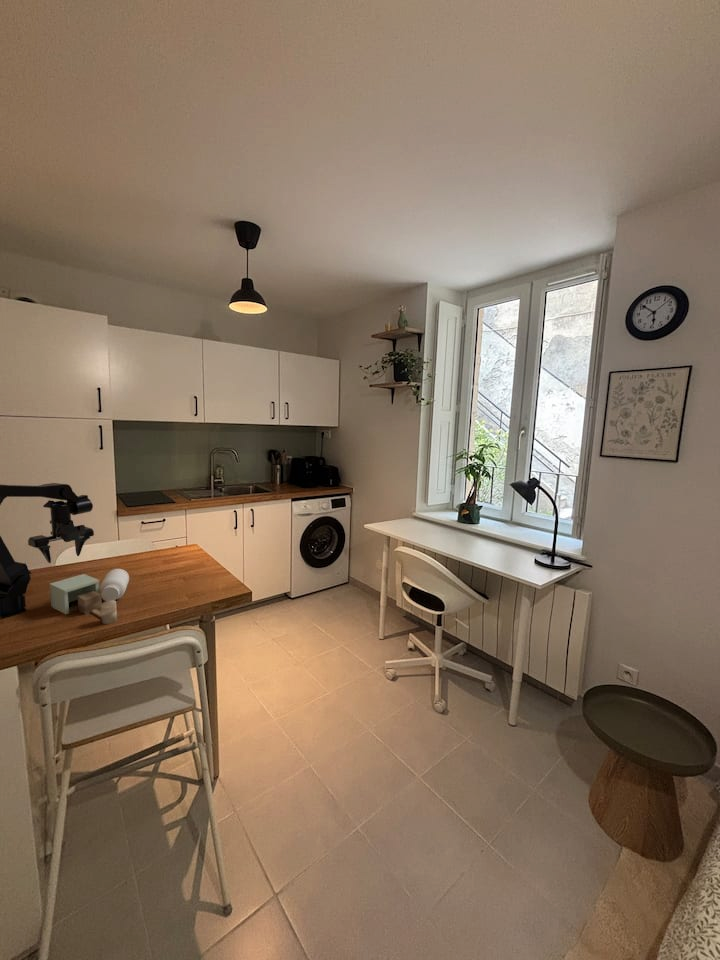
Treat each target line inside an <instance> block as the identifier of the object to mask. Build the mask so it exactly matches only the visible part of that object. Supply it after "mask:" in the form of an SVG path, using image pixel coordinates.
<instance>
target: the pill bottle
mask: <svg viewBox="0 0 720 960" xmlns="http://www.w3.org/2000/svg"><path fill="white" fill-rule="evenodd" d="M129 581H130V576H129V573H128V572H127V571H126V570H124V569H122V568H114V569H111V570H110V571H108V572H107V574H105V576H104V578H103V581H102V583H101V584H100V585H99V594H101V600H102V601H104V602H105V601H110V600H114V601H116V600H118V599H120V598H121V597H122V596H123V595H124V594H125V592H126V590H127V588H128V587H127V586H128V584H129Z"/></svg>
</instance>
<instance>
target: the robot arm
mask: <svg viewBox="0 0 720 960" xmlns="http://www.w3.org/2000/svg"><path fill="white" fill-rule="evenodd" d="M8 497H9V498H10V497H11V498H22V497H23V498H24V497H25V498H26V497H27V498H28V497H29V498H39V497H40V498H45V499H49V500H48V501H47V502H46V503H44V504H43V508H48V509H50V520H49V524H51V531H50V535H48V536H45V535H42V534H40V535H39V534H38V535H36V536H30V537H29V538H28V540H27V545H28V546H29V547H33V548H35V549H38V550H39V551H40V552H41V554H42V556H43V557H44V558H45V560H46V561H47V563H48V564H51V563H52V557H51V553H50V549H51V545H49V544H50V543H51V542H55V541H59V540H63V542H65V543H70V542H72V541H74V545H75V554H76V556H77V557H80V555H81V552H82V551H83V550H82V549H83V546H84V545H85V542H87V541H88V540H89V539H91V537H94V536H95V531H94V529H93V528H91V527H88V526H85V525H84V524H80V525H76V526H75V524H74V521H73V520H72V516H76V515H80V514H81V515H82V514H86V513H90V512H91V511H92V510H93V507H94V505H93V503H92V501H91V499H90V498H89V495H87V494H80V495H79V496H78V495H77V494H76V493H75V492H74V491H73V488H72V487H71V485H70V484H68V483H57V482H50V483H44V484H39V485H28V484H27V485H23V484H22V485H21V484H20V485H19V484H17V485H16V484H1V483H0V506H1V505H2V504H3V502H4V500H5V499H6V498H8ZM50 499H51V500H50ZM55 500H57V501H55ZM71 515H72V516H71ZM31 574H32V572H31V571H30V570H29V568H28V565H27V563H25V562H24V563H23V562H18V561H16V560H15V559H14V558H13V556H12V554H11V552H10V551H9V549H8V547H7V545H6V543H5V541H4V540H3V538H2V536H1V535H0V618H1V619H4V618H8V617H11V616H14V615H17V614H20V613H21V614H22V613H23V612H26V611H28V609H27V608H26V607H27V605H26V603H27V602H26V595H25V594H27V589H28V586H29V583H30V581H31V580H32V577H31Z"/></svg>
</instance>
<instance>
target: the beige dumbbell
mask: <svg viewBox="0 0 720 960" xmlns="http://www.w3.org/2000/svg"><path fill="white" fill-rule="evenodd" d="M77 597H78V600H77V608H78V611H79V612H81V613H82V614H84V615H89V614H91V613H92V614H94V616H97V617H98V618H100V619H101V622H102V624H104V625H110V624H113V623H116V622H117V621H118V614H117V613H118V612H117V601H116V600H110V601H105V600H104V601H103V599H102V597H101V594H100V593H97V592H95V591H93V592H89V593H86V594H83V595H79V596H77ZM102 601H103V602H102Z"/></svg>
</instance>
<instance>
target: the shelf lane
mask: <svg viewBox="0 0 720 960" xmlns="http://www.w3.org/2000/svg"><path fill="white" fill-rule="evenodd" d="M99 588H100V579H97V578H95V577H92V576H90V575H88V574H85V573H82V574H79V575H75V576H72V577H69V578H68V577H67V578H65V579H62V580H58V581H54V582H51V583H49V593H50V605H51V608H52V609H55V610H57V611H59V612H61V613H62V614H63V615H67V614H70V607H69V605H70V603H72V602H74V601H78V597H77V596H79V595H83V594H86V593H89V592H93V591H95V592H97V593H99ZM99 594H100V593H99Z"/></svg>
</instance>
